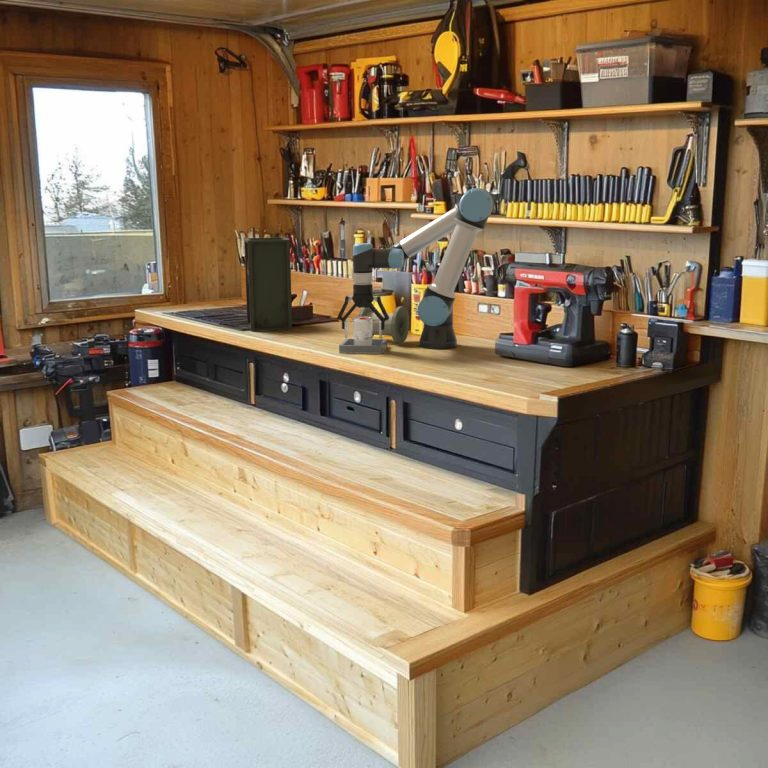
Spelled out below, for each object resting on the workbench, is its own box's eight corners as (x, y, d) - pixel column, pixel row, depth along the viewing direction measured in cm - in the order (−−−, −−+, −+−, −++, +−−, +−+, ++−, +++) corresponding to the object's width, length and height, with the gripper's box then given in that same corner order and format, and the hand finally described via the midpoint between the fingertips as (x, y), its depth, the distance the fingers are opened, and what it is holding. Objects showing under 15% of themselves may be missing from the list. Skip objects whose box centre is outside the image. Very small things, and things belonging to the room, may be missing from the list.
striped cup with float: (353, 350, 352) (352, 319, 349) (348, 347, 360) (347, 316, 357) (377, 349, 354) (377, 318, 352) (372, 345, 362) (372, 316, 360)
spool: (409, 340, 378) (409, 304, 375) (394, 346, 365) (394, 309, 362) (373, 338, 385) (373, 302, 382) (357, 343, 372) (357, 307, 369)
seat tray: (386, 346, 364) (386, 339, 364) (381, 353, 348) (381, 346, 348) (346, 345, 366) (346, 338, 366) (339, 353, 350) (339, 345, 350)
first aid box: (292, 329, 409) (289, 239, 400) (250, 331, 404) (247, 240, 396) (287, 323, 426) (284, 237, 418) (247, 325, 422) (244, 238, 413)
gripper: (396, 282, 354) (396, 336, 358) (332, 282, 357) (333, 335, 362) (393, 284, 347) (393, 339, 351) (329, 284, 350) (330, 338, 354)
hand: (363, 337), depth 356 cm, fingers open, 13 cm apart
